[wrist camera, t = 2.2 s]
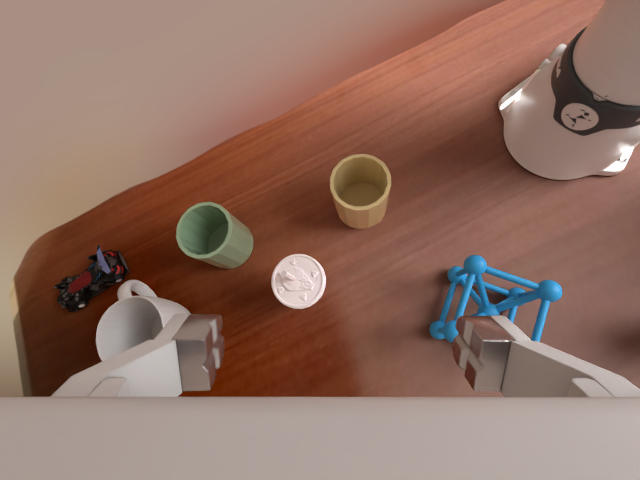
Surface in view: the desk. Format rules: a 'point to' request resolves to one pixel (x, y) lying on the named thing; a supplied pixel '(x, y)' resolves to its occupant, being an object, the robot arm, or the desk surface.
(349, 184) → the tan cup
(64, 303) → the toy car
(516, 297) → the molecular structure
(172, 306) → the mug
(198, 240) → the sage cup
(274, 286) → the smoothie
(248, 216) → the desk surface
